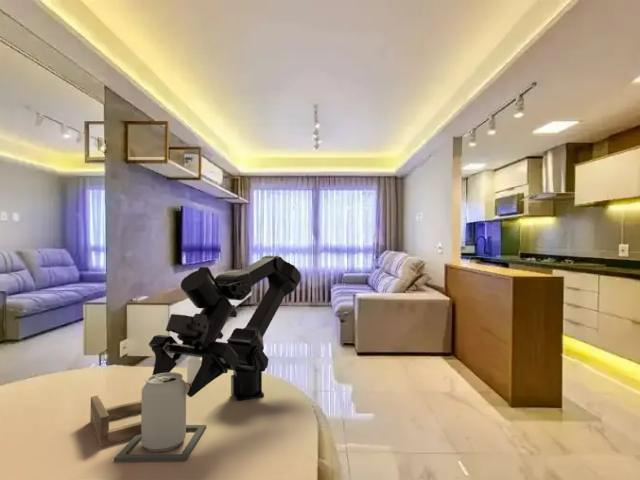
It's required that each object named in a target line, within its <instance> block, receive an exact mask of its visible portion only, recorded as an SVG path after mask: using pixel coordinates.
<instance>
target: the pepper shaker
mask: <svg viewBox="0 0 640 480" xmlns="http://www.w3.org/2000/svg"><path fill="white" fill-rule="evenodd" d="M201 363H202V357H196V356H189V357H187V361H186V364H187V365H186V369H187V370H186V375H187V376H186V384H189V385H191V384H192V382H193V380H194V378H195V376H196V374H197V372H198V370H199V369H200V367H201Z"/></svg>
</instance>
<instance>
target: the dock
mask: <svg viewBox="0 0 640 480" xmlns="http://www.w3.org/2000/svg"><path fill="white" fill-rule="evenodd" d="M138 413H142V399H141V400H137V401H132V402H127V403H123V404H120V405H115V406H111V407H105V405H104V403H103V401H102V400H101V399H100V397H99V396H98V395H93V396H90V424H91V427H92V428H93V429H92V430H93V432H94V434H95V437H96V439H97V441H98V444H99V446H100V447H102V446H105V445H109V444H112V443H117V442H120V441H124V440H128V439H133V438H134V437H135V436H136V434H137V433H138V432H141V421H138V422H134V423H130V424H127V425H122V426H118V427H115V428H110V420H113V419H117V418H121V417H125V416H129V415H132V414H138Z"/></svg>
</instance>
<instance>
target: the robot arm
mask: <svg viewBox="0 0 640 480" xmlns="http://www.w3.org/2000/svg"><path fill="white" fill-rule="evenodd" d="M301 275H302V274H301V272H300V271H299V270H298V268H297V267H296V266H295V265H293V264H292V263H290V262H288V261H286V260H284V258H283V257H281V256H279V255H265V256H263V257H262V258H260V259H259V260H257V261H255V262H254V263H251V264H250V265H248V266H246V267H244V268H242V269H240V270H236V271H231V272H224V273H220V274H218V275H217V276H215V277H214V275H213V273H212V271H211V269H210V268H209V267H208V266H199V268H198V269H197V270H195V271H192V272H191V273H189V274H188V275H186V276H185V277H183V279H182V281H181V283H180V288H181V290H182V291H183V293H185V295H186V297H187V298H188V299H189V300H190V301H191V303H192V304H193V305H194V306H195V308H197V309H201V311H200V312H199V313H197V312H195V314H194V315H193V316H191V315H186V314H185V315H184V314H175V313H171V314H170V317H169V320H168V323H167V325H166V327H165V331H166V332H172V333H175V334H177V336H176V338H177V339H178V340H179V341H181V342H182V343H178V342H177V340H175V338H174V337H173V336H171V335H164V334H156V335H154V336H153V337H152V338H151V340H150V342H149V343H148V346H149V347H150V348H151V351H152V352H153V353H154V356H155V358H154V359H155V361H154V367H153V371H152V374H151V376H152V375H156V374H160V373H168V372H172V370H173V369H174V368H175V367H176V366H177V364H178V363H177V362H176V361H178V360H179V359H180V358H181V357H182V356H183V355H185V356H189V357H190V356H196V357H202V363H201V367H200V369H199V370H198V372H197V374H196V376H195V378H194V380H193V382H192V384H190V386H189V388H188V390H187V392H186V396H188V397H189V398H192V397H194V395H196V394H198V392H199V391H200V392H201V390H202V389H204V388H205V387H206V386H207V385H209V384H210V383H212V382H213V381H214V380H216V379H217V378H219V377H220V376H222V375H224V374H228V372H229V371H232V372H233V373H232V375H230V392H231V394H232V396H233V397H234V398H235V400H237V401H242V400H247V399H249V400H250V399H254V398H260V397H264V396H265V393H264V391H262V389H263V387H262V386H263V385H262V384H263V383H262V382H263V381H262V379H263V377H262V376H263V372H265V371H266V369H268V366H269V358H268V356H267V355H266V353H265V352H264V348H265V346H264V336H265V334H266V332H267V330H268V328H269V326H270V324H271V322H272V321H273V319H274V317H275V315H276V313H277V312H278V309H279V308H280V306H281V304H282V302H283V300H284V298H285V297H287V295H289V294H291V293H293V292H294V291H295V290H296V289H297V287H298V285H300V282H301V278H302V277H301ZM264 279H267V282H268V287H267V288H268V289H267V290H266V292H265V294H264V295H263V297H262V299H261V300H260V302H259V304H258V305H257V307H256V309H255V310H254V312H253V314H252V316H251V317H250V318H249V321H248V322H247V324H246V325H245V327H244V328H241V327H235V328H234V329H233V331H231V332H232V333H231V335H230V336H229V337H228V338H227V340H226V342H223V341H217V339H219V340H222V339H223V337H224V334H223V332H222V330H223V328H224V326H225V325H226V323H227V321H228V319H229V318H237V316H238V313H237V309H236V305H235V304H232V303H231V302H230V301H242V300H245V298H247V296H249V295H250V294H251V293H252V291H253V289H252V288H253V286H254V285H256V284H258V283H259V282H261V281H262V280H264Z"/></svg>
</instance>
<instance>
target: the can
mask: <svg viewBox="0 0 640 480" xmlns="http://www.w3.org/2000/svg"><path fill="white" fill-rule="evenodd" d="M145 382H146V383H145V384H144V385H143V386H142V388H141V400H142V412H141V415H140V416H141V417H140V418H141V421H140V422H141V440H140V443H141V446H142V447H144V448H146V449H147V450H148V451H150V452H153V453H161V452H167V451H170V450H173V449H175V448H176V447H178V446H180V445H181V443H182V442H183V441H184V440H185V439H186V437H187V431H186V425H187V381H185V380H184V379H183V374H182V373H179V372H172V371H170V372H168V373H160V374H156V375H152V374H151V375H150V376H148V377H147V378H146V379H145Z"/></svg>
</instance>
